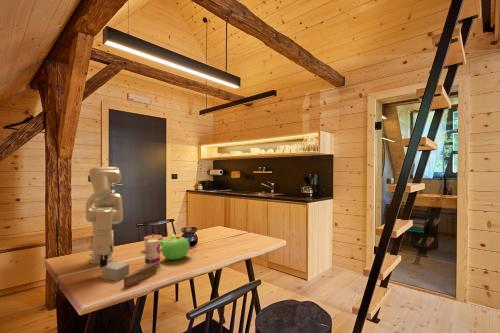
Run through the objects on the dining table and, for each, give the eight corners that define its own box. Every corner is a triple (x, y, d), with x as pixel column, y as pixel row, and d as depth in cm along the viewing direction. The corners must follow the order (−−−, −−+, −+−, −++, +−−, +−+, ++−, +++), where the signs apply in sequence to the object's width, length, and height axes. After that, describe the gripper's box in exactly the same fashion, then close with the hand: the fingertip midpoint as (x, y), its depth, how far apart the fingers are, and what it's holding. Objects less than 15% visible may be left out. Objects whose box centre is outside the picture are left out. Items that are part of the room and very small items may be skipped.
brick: (102, 278, 140) (102, 267, 140) (114, 272, 147) (114, 261, 147) (116, 281, 136) (117, 269, 136) (128, 275, 144) (128, 264, 144)
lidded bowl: (165, 247, 193) (165, 232, 193) (157, 253, 181) (158, 236, 181) (148, 247, 195) (149, 231, 195) (140, 252, 182) (140, 236, 182)
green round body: (176, 265, 159) (176, 240, 159) (154, 260, 166) (154, 237, 166) (194, 256, 175) (194, 233, 175) (174, 252, 182) (174, 231, 182)
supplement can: (161, 263, 161) (161, 238, 161) (157, 268, 153) (157, 242, 153) (148, 263, 161) (148, 238, 161) (143, 268, 153) (143, 242, 153)
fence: (123, 286, 129) (124, 276, 129) (152, 272, 148) (152, 263, 148) (127, 287, 129) (128, 277, 129) (156, 272, 147) (156, 263, 147)
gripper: (87, 232, 144) (87, 266, 144) (108, 235, 139) (107, 270, 139) (99, 229, 151) (99, 262, 151) (119, 232, 146) (119, 265, 146)
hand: (103, 266), depth 145 cm, fingers closed
